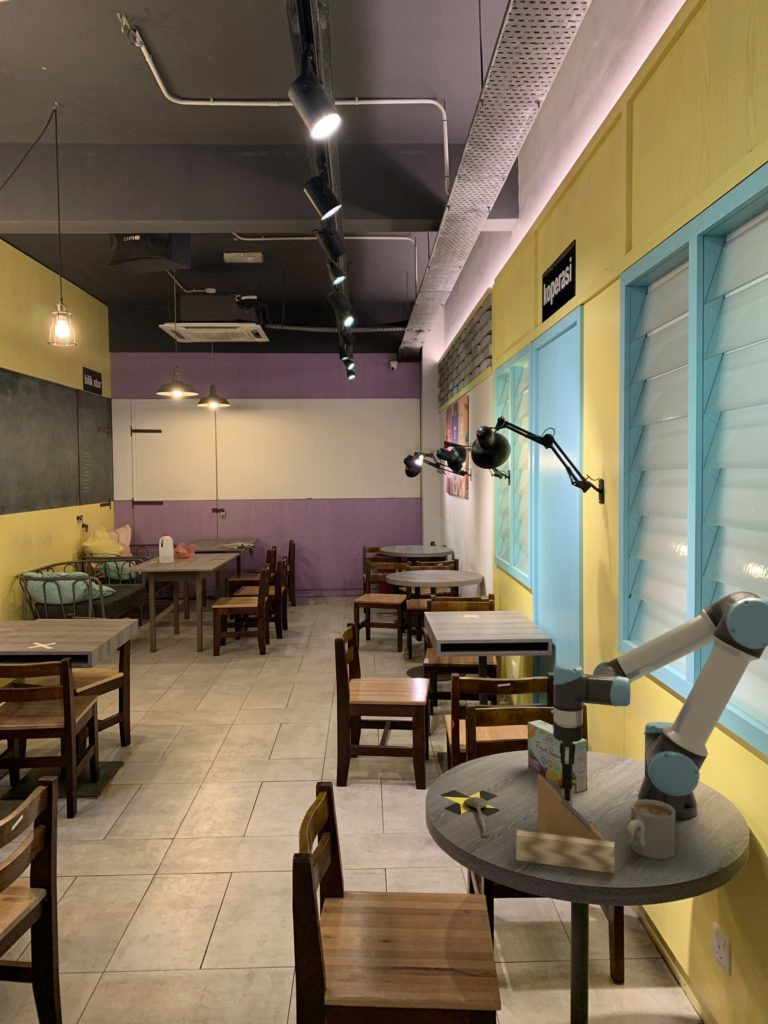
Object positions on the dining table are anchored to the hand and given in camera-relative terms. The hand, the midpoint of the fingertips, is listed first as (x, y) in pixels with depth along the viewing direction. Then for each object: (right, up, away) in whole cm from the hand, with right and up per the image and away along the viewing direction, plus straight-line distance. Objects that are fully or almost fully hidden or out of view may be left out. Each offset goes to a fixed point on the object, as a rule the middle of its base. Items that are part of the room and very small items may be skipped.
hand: (567, 811), depth 192 cm
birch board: (-7, -2, -24) cm, 25 cm away
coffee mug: (+15, -2, -18) cm, 23 cm away
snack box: (+3, -1, +25) cm, 25 cm away
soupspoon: (-23, -2, 0) cm, 24 cm away
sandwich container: (-2, -2, -11) cm, 12 cm away
